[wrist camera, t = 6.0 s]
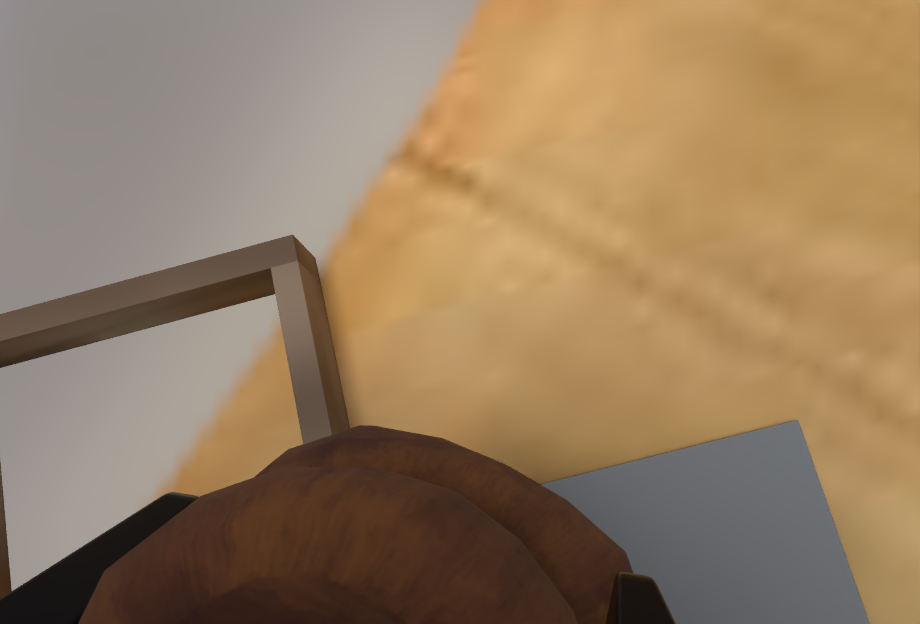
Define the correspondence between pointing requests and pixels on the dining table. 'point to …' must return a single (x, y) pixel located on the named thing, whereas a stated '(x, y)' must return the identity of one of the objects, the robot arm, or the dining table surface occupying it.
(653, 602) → the robot arm
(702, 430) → the dining table surface
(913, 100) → the dining table surface
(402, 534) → the wooden figurine
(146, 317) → the walnut holder frame
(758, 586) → the charcoal mat
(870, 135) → the dining table surface
